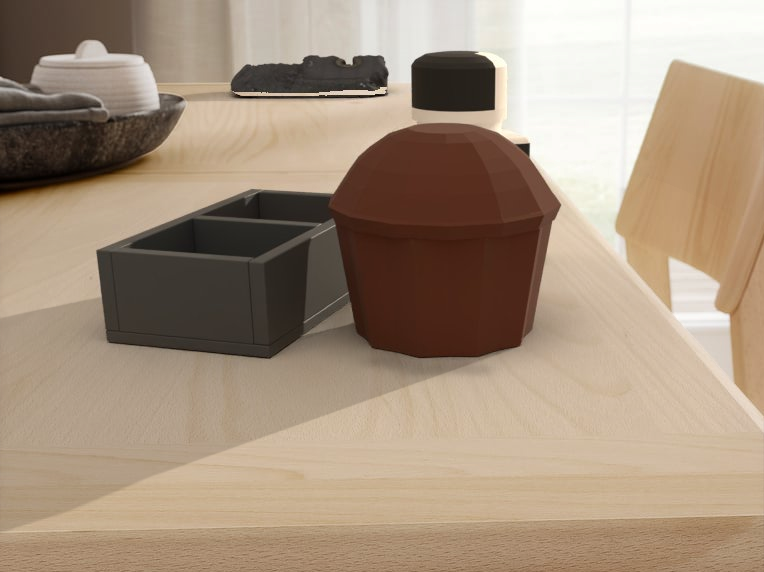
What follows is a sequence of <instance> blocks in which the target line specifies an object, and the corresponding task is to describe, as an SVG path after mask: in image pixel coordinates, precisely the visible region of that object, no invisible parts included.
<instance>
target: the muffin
mask: <svg viewBox="0 0 764 572" xmlns="http://www.w3.org/2000/svg"><path fill="white" fill-rule="evenodd" d="M409 126H410V127H408V126H406V127H407V128H403V129H400V130H397V131H394V132H392V131H391V132H388V133H387V134H386V135H384V136H383V137H381V138H379V139H378V140H377V141H375V142H374V143H373V144H371V145H370V146H368V147H367V148H366V149H365V150H363V152H362V153H361V154H359V155H358V156H357V158H356V159H355V160H354V162H353V164H352V165H351V166H350V168H349V169H348V170H347V172H346V174H345V175H344V177H343V179H342V180H341V181H340V183H339V184H338V186H337V188H336V189H335V191H334V192H333V193H332V194H333V195H332V196H331V198H330V202H329V206H328V208H329V210H330V212H331V215H332V217H333V219H334V222H335V225H336V230H337V235H338V241H339V246H340V251H341V256H342V261H343V266H344V271H345V276H346V282H347V287H348V292H349V297H350V301H349V303H350V306H351V312H352V317H353V322H354V327H355V332H356V333H357V334H358V335H360V336H362V337H363V338H364V339H366V340H367V342H368V344H369V345H370V346H371V348H373V349H374V348H375V349H379V350H385V351H391V352H397V353H401V354H406V355H408V356H412V357H417V358H432V357H480V356H484V355H486V354H490V353H493V352H495V351H496V352H497V351H500V350H505V349H510V348H514V347H515V348H516V347H519V346H521V345H522V343H523V340H524V338H525V337H526V336H527V335H528V334H529V333H530V332H531V331H532V330H533V327H534V322H535V316H536V311H537V306H538V300H539V294H540V289H541V285H542V278H543V274H544V268H545V264H546V263H545V262H546V257H547V252H548V247H549V241H550V236H551V230H552V227H553V226H552V225H553V222H554V221H555V220H556V218H557V216H558V214H559V212H560V210H561V207H562V203H561V202H560V200H559V199H558V198H557V196H556V194H555V193H554V192H553V191H552V189H551V188H550V185H548V183H547V181H546V180H545V179H544V177H543V175H542V173H541V172H540V171H539V169H538V167H537V166H536V165H535V163H534V162H533V160H532V159H531V157H530V158H529V156H528V155H527V154H526V153H525V152H523V151H522V150H521V149H520V148H519V147H518V146H517V145H515V144H514V143H512V142H511V141H509V140H508V139H507V138H505V137H504V136H502V135H501V134H499V133H498V132H495V131H492V130H489V129H485V128H482V127H479V126H475V125H471V124H461V123H426V124H418V125H417V124H413V125H409Z"/></svg>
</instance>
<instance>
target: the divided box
mask: <svg viewBox="0 0 764 572" xmlns="http://www.w3.org/2000/svg"><path fill="white" fill-rule="evenodd" d="M333 194H334V193H330V192H313V191H312V192H311V191H296V190H295V191H292V190H279V189H278V190H275V189H260V188H259V189H258V188H251V189H248V190H245V191H243V192H240V193H237V194H235V195H233V196H230V197H227V198H225V199H223V200H220V201H218V202H217V201H216V202H215V203H212V204H210V205H207V206H205V207H204V206H203V207H202V208H200V209H197V210H195V211H192V212H189V213H187V214H185V215H181V216H179V217H176V218H174V219H172V220H169V221H166V222H164V223H161V224H159V225H157V226H153V227H151V228H149V229H147V230H143V231H141V232H139V233H136V234H133V235H130V236H128V237H126V238H123V239H121V240H118V241H116V242H114V243H110V244H108V245H106V246H103V247H100V248H98V249H96V251H95V253H96V261H97V268H98V277H99V285H100V286H99V287H100V294H101V303H102V311H103V319H104V328H105V336H106V341H107V342H108V343H116V344H126V345H136V346H137V345H138V346H145V347H146V346H148V347H157V348H165V349H166V348H167V349H168V348H169V349H176V350H177V349H178V350H185V351H187V350H188V351H196V352H208V353H217V354H218V353H219V354H227V355H237V356H247V357H257V358H268V359H269V358H272V357H273V356H274V355H275V354H277V353H279V352H280V351H282V350H283V349H284V348H286V347H287V346H289V345H290V344H292V343H293V342H294V341H296V340H297V339H298V338H300V337H301V336H303V335H304V334H305V333H307V332H308V331H310V330H311V329H313V328H314V327H316V326H317V325H319V324H320V323H321V322H322V321H324V320H325V319H327V318H328V317H330V316H331V315H333V314H334V313H335V312H337V311H339V310H340V309H341V308H343V307H344V306H346V305H347V304H348V303H350V297H349V292H348V287H347V282H346V276H345V271H344V266H343V261H342V256H341V251H340V246H339V241H338V235H337V230H336V225H335V222H334V219H333V217H332V215H331V212H330V210H329V208H328V206H329V202H330V198H331V196H332V195H333Z"/></svg>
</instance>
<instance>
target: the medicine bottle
mask: <svg viewBox="0 0 764 572" xmlns="http://www.w3.org/2000/svg"><path fill="white" fill-rule="evenodd" d="M410 70H411V71H410V76H411V80H410V81H411V89H410V90H411V119H412V120H413V121H416V125H418V124H426V123H461V124H471V125H475V126H479V127H482V128H485V129H489V130H492V131H495V132H498V133H499V134H501V135H502V136H504V137H505V138H507V139H508V140H509V141H511V142H512V143H514V144H515V145H517V146H518V147H519V148H520V149H521V150H522V151H523V152H525V153H526V154H527V155H528V156H529V158H530V159H531V141H530V138H528V137H527V136H525V135H522V134H519V133H517V132H513V131H510V130H508V129H506V128H502V122H503V121H505V120H507V116H508V115H507V113H508V112H507V111H508V109H507V108H508V64H507V63H506V61H505V60H504V59H503V58H501V57H500V56H498V55H496V54H494V53H493V52H492V53H491V52H484V51H483V52H482V51H475V50H444V51H435V52H427V53H424V54H422V55H421V56H419V57H417V58H415V59H414V61H413V62H412V63H411V64H410ZM410 126H411V125H409V126H401V127H400V126H399V127H396V128H393V129H392V131H391V132H394V131H397V130H400V129H403V128H407V127H410Z"/></svg>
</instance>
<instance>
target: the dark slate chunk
mask: <svg viewBox="0 0 764 572" xmlns="http://www.w3.org/2000/svg"><path fill="white" fill-rule="evenodd" d="M301 61H302V62H301V63H291V64H290V63H284V62H279V63H273V62H272V63H271V62H270V63H263V64H257V65H254V64H253V65H252V64H249V63H247V64H245V65H243V66H242V67H241V68H240V70H239V71H238V72H236V74H235V75H234V76H233V77H232V79H231V81H230V91H231V90H232V91H234V92H261V93H262V92H266V93H267V92H268V93H319V92H330V91H343V90H368V91H375V90H378V89H380V87H387V88H388V84H389V83H388V81H389V75H390V72H389V69H388V67H387V66H386V64H387V63H386V60H385V57H384V56H383V55H380V54H377V55H372V54H371V55H370V54H367V55H362V54H361V55H354V56H353V57H352V64H351V63H347V62H346V60H345V59H344V58H341V57H339V56H336V55H327V56H320V55H316V54H310V55H307V56H304V57H303V59H301ZM385 91H386V93H385V94H375V95H376V96H377V97H379V96H378V95H380V96H387V95H389V92H388V89H387V90H385ZM375 95H327V96H325V95H319V96H238V95H236V96H237V97H240V98H256V99H257V98H258V99H278V98H281V99H282V98H283V99H294V98H295V99H304V98H305V99H307V98H310V99H317V98H318V99H321V98H322V99H323V98H370V96H372V97H376V96H375ZM359 96H360V97H359Z"/></svg>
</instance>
